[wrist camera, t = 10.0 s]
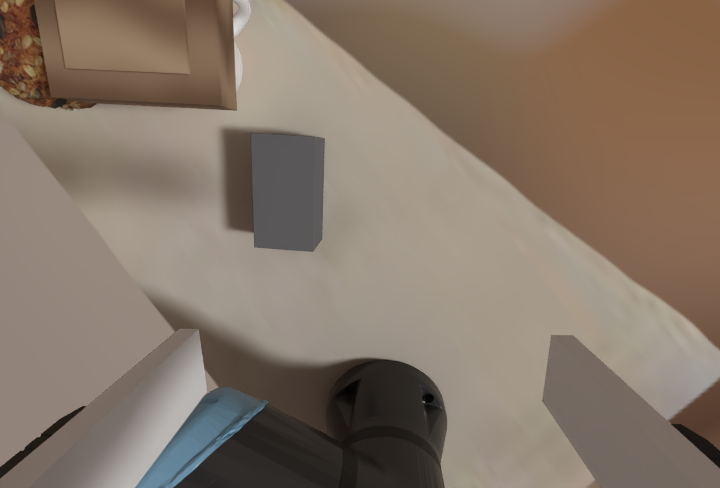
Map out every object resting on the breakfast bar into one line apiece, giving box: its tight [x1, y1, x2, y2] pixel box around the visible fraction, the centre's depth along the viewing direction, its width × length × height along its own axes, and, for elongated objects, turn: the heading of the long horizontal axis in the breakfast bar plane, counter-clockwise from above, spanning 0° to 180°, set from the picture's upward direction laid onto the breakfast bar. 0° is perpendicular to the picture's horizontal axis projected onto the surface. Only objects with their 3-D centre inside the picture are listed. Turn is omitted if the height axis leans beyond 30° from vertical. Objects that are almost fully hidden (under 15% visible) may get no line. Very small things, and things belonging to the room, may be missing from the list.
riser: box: [251, 133, 325, 252], centre depth 35 cm, size 11×6×5 cm, turn 177°
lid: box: [34, 0, 237, 110], centre depth 23 cm, size 12×12×3 cm
